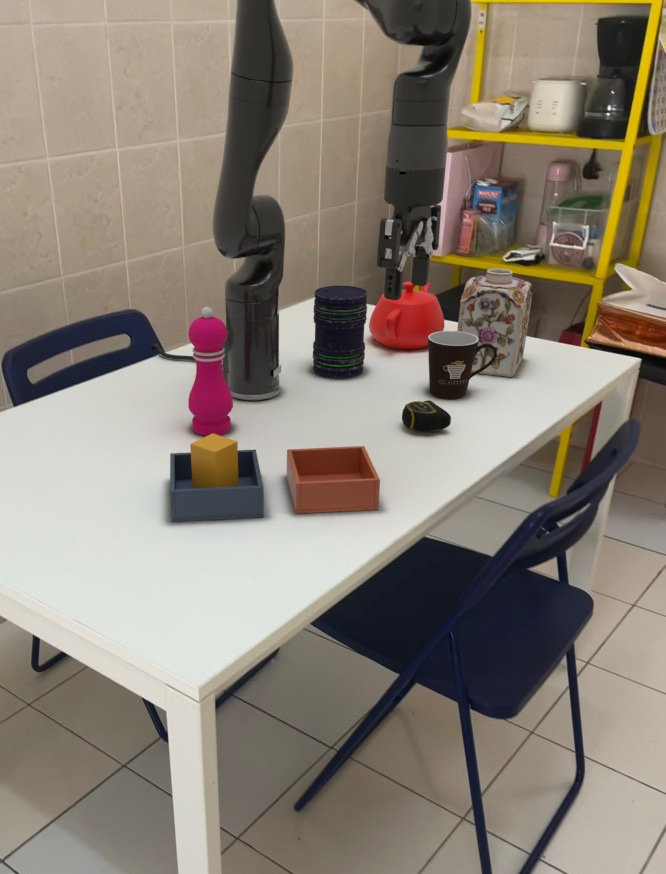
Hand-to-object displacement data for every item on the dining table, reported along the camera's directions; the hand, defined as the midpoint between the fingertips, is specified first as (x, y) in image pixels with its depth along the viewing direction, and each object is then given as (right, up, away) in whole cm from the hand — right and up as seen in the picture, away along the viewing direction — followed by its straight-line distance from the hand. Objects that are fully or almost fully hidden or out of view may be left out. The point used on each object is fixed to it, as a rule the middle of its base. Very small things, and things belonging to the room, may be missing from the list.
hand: (406, 292), depth 119 cm
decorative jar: (+24, 0, +51) cm, 56 cm away
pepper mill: (-28, -16, +25) cm, 40 cm away
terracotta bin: (-10, -27, +4) cm, 29 cm away
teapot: (+11, +8, +65) cm, 66 cm away
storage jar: (-5, -1, +49) cm, 49 cm away
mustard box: (-26, -28, +2) cm, 38 cm away
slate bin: (-26, -28, +3) cm, 38 cm away
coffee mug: (+15, -8, +37) cm, 41 cm away
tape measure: (+7, -15, +24) cm, 30 cm away
